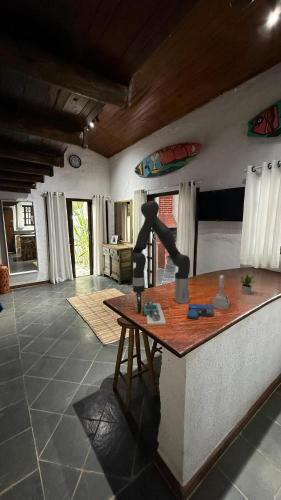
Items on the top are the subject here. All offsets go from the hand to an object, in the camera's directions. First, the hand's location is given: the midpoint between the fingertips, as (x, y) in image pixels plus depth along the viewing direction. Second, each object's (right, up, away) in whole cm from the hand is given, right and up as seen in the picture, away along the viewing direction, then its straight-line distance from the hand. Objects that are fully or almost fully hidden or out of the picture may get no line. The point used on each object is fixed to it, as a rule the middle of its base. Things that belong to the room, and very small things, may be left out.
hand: (139, 309), depth 134 cm
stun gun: (+37, -1, -8) cm, 37 cm away
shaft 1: (+7, +1, +3) cm, 8 cm away
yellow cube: (0, -1, 0) cm, 1 cm away
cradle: (+7, 0, -5) cm, 9 cm away
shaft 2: (+9, -1, -13) cm, 16 cm away
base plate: (+9, -1, -5) cm, 10 cm away
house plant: (+82, +4, +25) cm, 86 cm away
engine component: (+54, +1, +5) cm, 54 cm away
